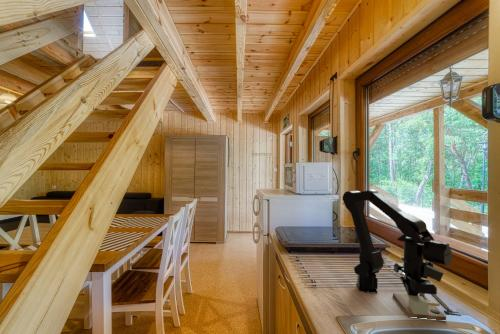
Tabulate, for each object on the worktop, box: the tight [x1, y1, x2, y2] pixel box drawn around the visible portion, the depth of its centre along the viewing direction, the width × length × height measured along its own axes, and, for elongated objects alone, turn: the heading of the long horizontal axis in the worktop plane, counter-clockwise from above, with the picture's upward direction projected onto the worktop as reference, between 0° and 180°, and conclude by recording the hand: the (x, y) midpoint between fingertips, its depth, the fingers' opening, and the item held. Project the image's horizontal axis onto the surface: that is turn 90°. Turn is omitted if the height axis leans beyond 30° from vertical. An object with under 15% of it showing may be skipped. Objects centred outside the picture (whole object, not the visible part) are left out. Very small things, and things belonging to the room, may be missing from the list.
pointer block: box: [408, 295, 441, 315], centre depth 85 cm, size 8×4×4 cm, turn 80°
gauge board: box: [392, 292, 447, 321], centre depth 90 cm, size 11×14×6 cm
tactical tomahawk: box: [430, 294, 462, 317], centre depth 96 cm, size 21×7×1 cm, turn 166°
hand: (412, 302), depth 89 cm, fingers closed
